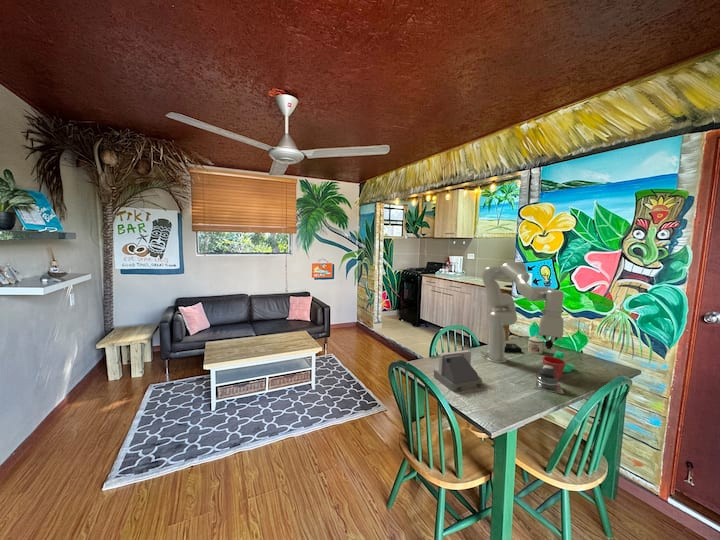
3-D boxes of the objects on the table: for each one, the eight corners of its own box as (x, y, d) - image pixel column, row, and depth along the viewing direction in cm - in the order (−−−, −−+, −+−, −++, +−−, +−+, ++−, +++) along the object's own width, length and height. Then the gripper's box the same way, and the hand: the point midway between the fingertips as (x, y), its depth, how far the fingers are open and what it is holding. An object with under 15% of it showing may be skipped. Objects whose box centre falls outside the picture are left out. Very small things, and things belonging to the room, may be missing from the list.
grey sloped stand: (465, 371, 170) (466, 346, 168) (486, 389, 150) (488, 360, 148) (430, 374, 166) (431, 348, 164) (448, 392, 146) (449, 363, 144)
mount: (563, 374, 170) (564, 356, 169) (549, 369, 177) (550, 352, 176) (574, 370, 175) (576, 353, 174) (561, 365, 182) (562, 349, 181)
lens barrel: (533, 388, 152) (534, 376, 151) (531, 379, 162) (531, 368, 161) (563, 394, 146) (564, 381, 146) (559, 384, 156) (560, 372, 156)
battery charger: (514, 349, 210) (515, 343, 210) (521, 354, 201) (521, 348, 200) (496, 348, 211) (496, 342, 210) (501, 353, 201) (502, 347, 201)
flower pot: (569, 380, 161) (570, 363, 160) (551, 381, 159) (552, 364, 159) (553, 372, 172) (554, 356, 171) (536, 373, 170) (538, 356, 169)
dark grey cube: (541, 378, 152) (542, 367, 151) (539, 373, 157) (540, 363, 157) (555, 380, 150) (556, 370, 149) (552, 376, 155) (553, 365, 154)
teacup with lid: (525, 351, 204) (526, 335, 203) (529, 348, 210) (531, 332, 209) (545, 357, 195) (546, 339, 194) (549, 353, 201) (550, 337, 200)
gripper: (536, 313, 150) (532, 348, 152) (571, 317, 144) (567, 353, 146) (534, 310, 157) (531, 343, 159) (568, 314, 151) (564, 348, 153)
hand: (548, 348), depth 153 cm, fingers closed
